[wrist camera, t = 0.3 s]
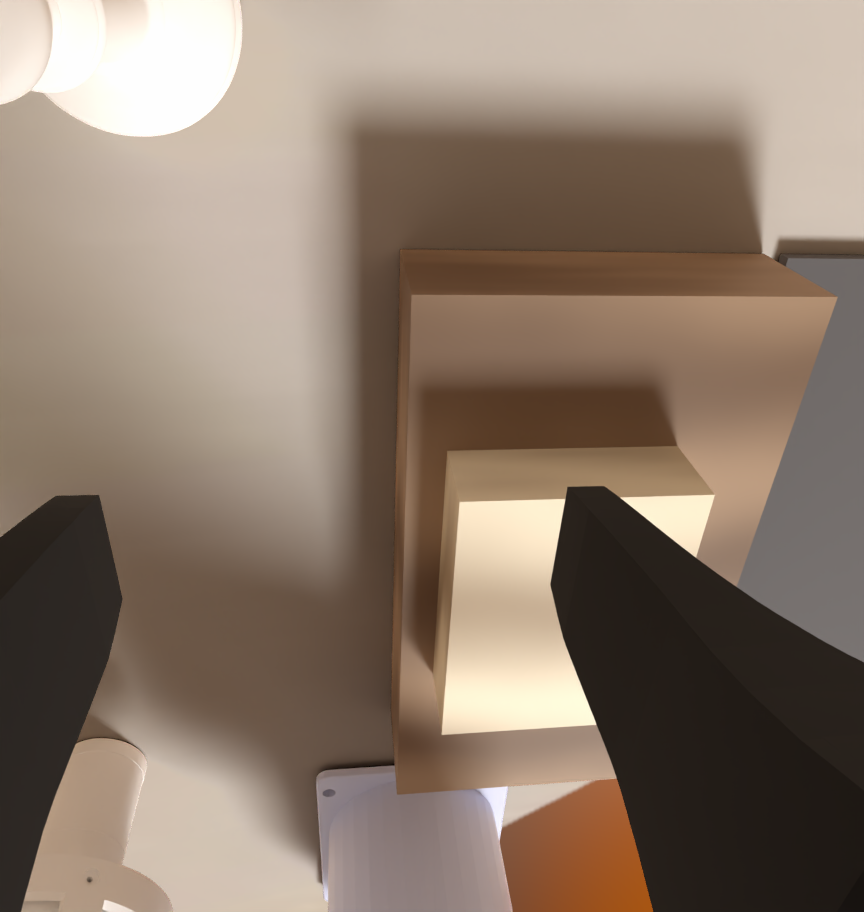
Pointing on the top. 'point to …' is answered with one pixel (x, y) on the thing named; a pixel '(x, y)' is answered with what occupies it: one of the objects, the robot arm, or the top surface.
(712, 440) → the walnut deck
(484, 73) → the top surface
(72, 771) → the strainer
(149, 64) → the chess piece
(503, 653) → the birch tile
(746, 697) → the robot arm
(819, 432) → the rubber mat
